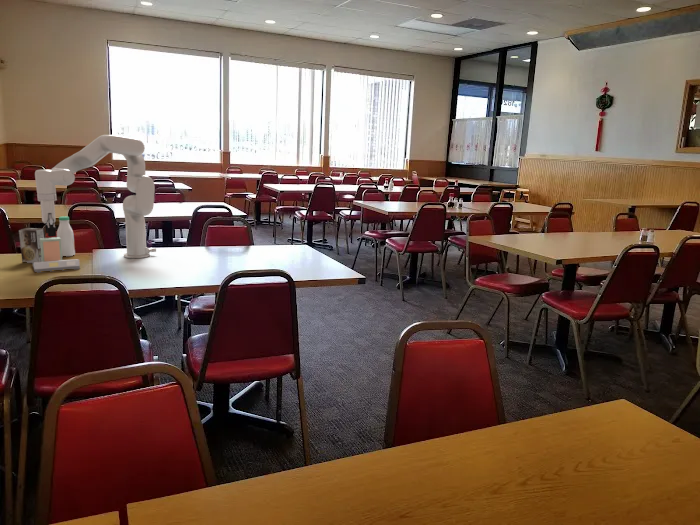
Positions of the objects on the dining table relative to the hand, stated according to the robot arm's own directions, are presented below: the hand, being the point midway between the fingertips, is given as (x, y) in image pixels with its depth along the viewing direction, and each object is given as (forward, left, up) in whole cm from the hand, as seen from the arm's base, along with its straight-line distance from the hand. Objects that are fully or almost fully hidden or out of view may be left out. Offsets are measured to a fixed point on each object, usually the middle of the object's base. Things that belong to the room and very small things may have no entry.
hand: (51, 234), depth 249 cm
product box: (0, 0, -14) cm, 14 cm away
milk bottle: (-8, -28, -16) cm, 33 cm away
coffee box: (+7, -17, -16) cm, 24 cm away
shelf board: (-1, +1, -15) cm, 16 cm away
